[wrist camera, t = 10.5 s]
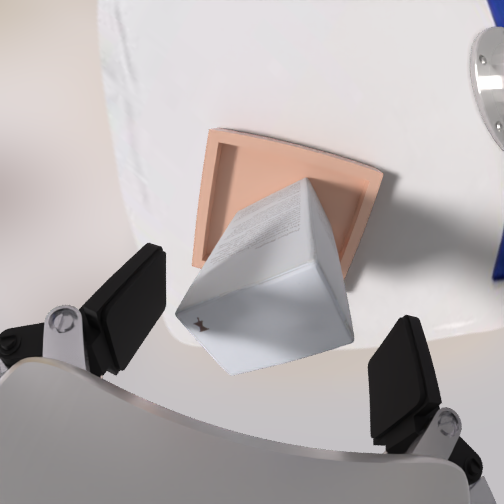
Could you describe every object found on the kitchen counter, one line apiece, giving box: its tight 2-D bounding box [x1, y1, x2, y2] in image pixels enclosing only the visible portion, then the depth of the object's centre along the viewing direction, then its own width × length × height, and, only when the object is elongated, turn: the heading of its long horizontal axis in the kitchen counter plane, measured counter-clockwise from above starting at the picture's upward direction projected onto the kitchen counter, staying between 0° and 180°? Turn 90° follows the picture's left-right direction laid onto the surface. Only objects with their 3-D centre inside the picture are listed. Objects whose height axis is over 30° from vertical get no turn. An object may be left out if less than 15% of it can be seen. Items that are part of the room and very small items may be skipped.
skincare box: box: [175, 177, 354, 375], centre depth 15 cm, size 6×4×12 cm
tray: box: [192, 128, 383, 279], centre depth 20 cm, size 12×11×2 cm
